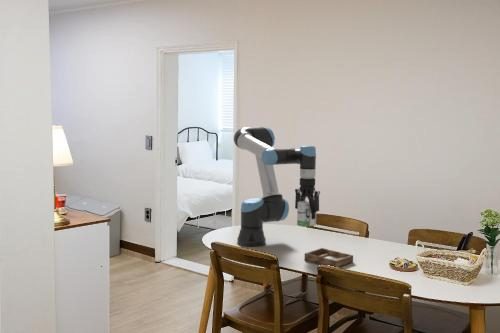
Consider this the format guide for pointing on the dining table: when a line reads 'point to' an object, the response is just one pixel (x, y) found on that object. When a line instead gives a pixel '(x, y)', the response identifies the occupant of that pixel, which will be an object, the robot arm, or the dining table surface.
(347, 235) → the dining table surface
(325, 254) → the walled box
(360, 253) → the dining table surface
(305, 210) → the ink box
